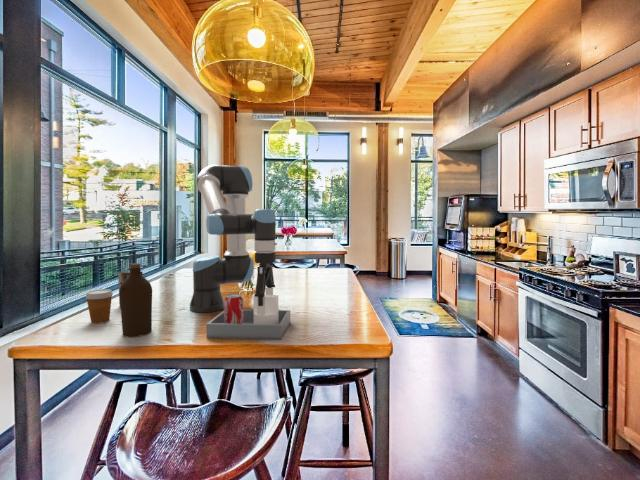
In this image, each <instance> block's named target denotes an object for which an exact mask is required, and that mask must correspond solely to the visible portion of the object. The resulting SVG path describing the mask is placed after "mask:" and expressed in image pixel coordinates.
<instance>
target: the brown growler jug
mask: <svg viewBox="0 0 640 480" xmlns="http://www.w3.org/2000/svg"><path fill="white" fill-rule="evenodd" d="M129 271H130V275H129V277H128V278H127V279H126V280H125V281H124V282H123V283H122V284H121V286H120V289H119V288H118V299H119V298H120V304H119V307H120V316H121V327H122V328H121V331H122V336H123V337H127V338H129V337H130V338H134V337H141V336H146V335H149V334H150V333H152V327H153V325H152V322H153V321H152V319H153V318H152V317H153V315H152V314H153V310H152V309H153V287H152V284H151V282H150V281H149V280H148V279H146V277H145V276H142V275H141V273H140V271H141V263H139V262H138V263H135V262H134V263H130V264H129ZM148 333H149V334H148Z"/></svg>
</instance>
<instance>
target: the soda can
mask: <svg viewBox="0 0 640 480" xmlns="http://www.w3.org/2000/svg"><path fill="white" fill-rule="evenodd" d="M244 307H245V306H244V298H243V297H242V294H241V293H230V294H225V298H224V308H223V311H224V323H228V324H243V323H244V310H245V308H244Z"/></svg>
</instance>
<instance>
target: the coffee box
mask: <svg viewBox="0 0 640 480" xmlns="http://www.w3.org/2000/svg"><path fill="white" fill-rule="evenodd" d="M140 273H141V275H142V276H143V271H141V270H140ZM129 275H130V270H124V271H119V272H117V278H118V281H117V282H118V290H119V289H120V286H121V284H122V283H123V282H124V281H125V280H126V279H127V278H128V277H129ZM143 277H144V276H143ZM118 299H119V302H118V303H119V305H120V298H119V297H118Z"/></svg>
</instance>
